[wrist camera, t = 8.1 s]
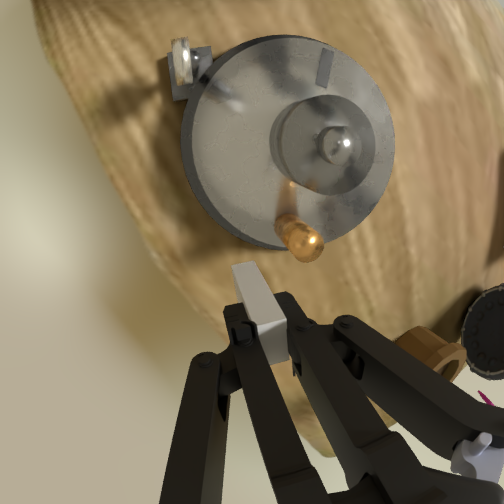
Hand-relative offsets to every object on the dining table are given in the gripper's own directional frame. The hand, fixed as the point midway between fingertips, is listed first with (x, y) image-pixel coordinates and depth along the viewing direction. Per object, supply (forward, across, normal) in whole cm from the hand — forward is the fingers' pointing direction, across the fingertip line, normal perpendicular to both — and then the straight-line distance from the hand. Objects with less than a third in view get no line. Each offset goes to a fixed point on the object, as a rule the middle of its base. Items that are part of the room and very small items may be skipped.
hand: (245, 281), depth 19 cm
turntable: (+9, +8, +8) cm, 14 cm away
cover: (+7, +9, +8) cm, 14 cm away
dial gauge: (+11, -1, +16) cm, 19 cm away
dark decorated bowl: (+11, +50, -28) cm, 59 cm away
